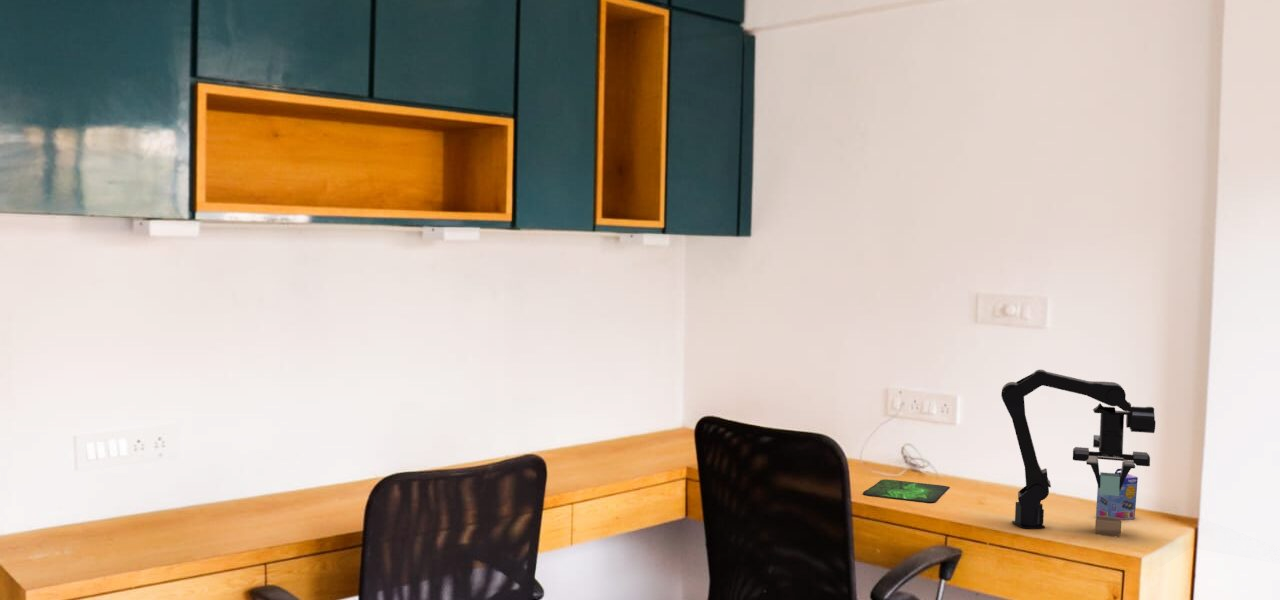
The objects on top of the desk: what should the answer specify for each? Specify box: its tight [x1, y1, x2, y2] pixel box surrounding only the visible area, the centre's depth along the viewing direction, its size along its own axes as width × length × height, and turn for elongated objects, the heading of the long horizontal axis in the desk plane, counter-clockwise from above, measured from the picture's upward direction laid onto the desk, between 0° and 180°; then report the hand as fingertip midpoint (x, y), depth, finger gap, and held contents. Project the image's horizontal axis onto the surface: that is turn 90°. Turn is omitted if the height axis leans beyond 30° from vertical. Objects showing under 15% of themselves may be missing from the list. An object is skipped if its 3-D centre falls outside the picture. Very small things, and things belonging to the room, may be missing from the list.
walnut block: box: [1094, 515, 1122, 538], centre depth 293 cm, size 6×6×4 cm
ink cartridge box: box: [1095, 468, 1139, 521], centre depth 309 cm, size 10×6×14 cm, turn 111°
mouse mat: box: [862, 479, 951, 504], centre depth 339 cm, size 27×22×1 cm
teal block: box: [1099, 471, 1120, 496], centre depth 291 cm, size 5×5×5 cm
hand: (1109, 488), depth 292 cm, fingers closed on teal block, 5 cm apart
